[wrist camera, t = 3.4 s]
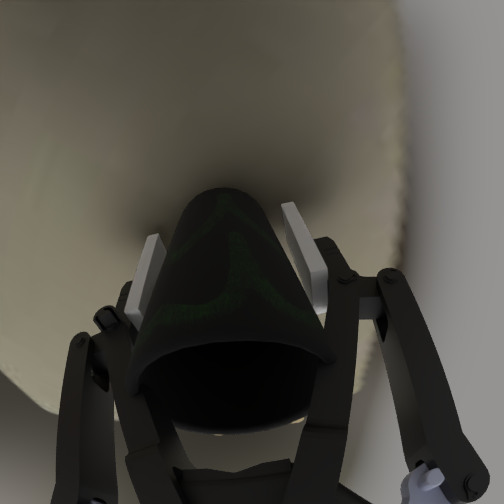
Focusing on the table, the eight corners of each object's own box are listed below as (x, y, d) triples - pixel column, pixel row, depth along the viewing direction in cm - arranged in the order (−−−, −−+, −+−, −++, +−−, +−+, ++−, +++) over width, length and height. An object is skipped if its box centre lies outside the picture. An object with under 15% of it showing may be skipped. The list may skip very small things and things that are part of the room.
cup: (301, 236, 20) (366, 392, 10) (213, 289, 22) (220, 445, 12) (236, 146, 16) (270, 287, 6) (141, 218, 18) (84, 385, 8)
